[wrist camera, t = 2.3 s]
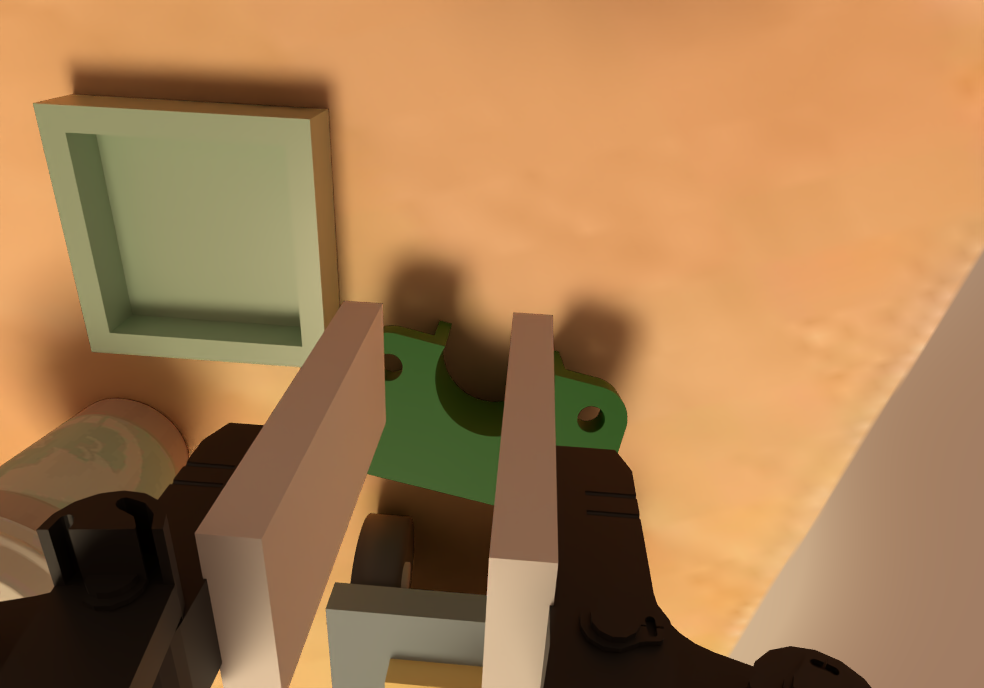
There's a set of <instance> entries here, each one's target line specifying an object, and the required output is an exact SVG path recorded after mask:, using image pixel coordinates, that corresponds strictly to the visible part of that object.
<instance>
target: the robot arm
mask: <svg viewBox="0 0 984 688" xmlns="http://www.w3.org/2000/svg"><path fill="white" fill-rule="evenodd" d="M385 423H386V407H385V370H384V333H383V303H368V302H354V301H344V302H343V303H342V305H341V306H340V308H339V309H338V311H337V312H336V314H335V316H334V317H333V319H332V320H331V322H330V323H329V325H328V326H327V328H326V330H325V331H324V333H323V334H322V336H321V337H320V339H319V340H318V342H317V344H316V345H315V347H314V348H313V350H312V351H311V353H310V355H309V356H308V358H307V359H306V361H305V362H304V364H303V365H302V367H301V369H300V370H299V372H298V373H297V375H296V376H295V378H294V379H293V381H292V383H291V384H290V386H289V387H288V389H287V390H286V392H285V393H284V395H283V397H282V398H281V400H280V401H279V403H278V404H277V406H276V407H275V409H274V411H273V412H272V414H271V415H270V417H269V418H268V420H267V421H266V423H265V425H252V424H239V423H228V424H227V425H225V426H224V427H222V428H221V429H219V430H218V431H216V432H215V433H213V434H212V435H210V436H208V437H207V438H205V439H204V440H203V441H202V442H201V443H200V445H199V446H198V447H197V449H196V450H195V451H194V452H193V454H192V455H191V456H190V458H189V459H188V460H187V464H186V466H183V467H182V468H181V470H180V471H179V472H178V474H177V475H176V476H175V478H174V479H173V484H169V486H168V487H167V488H166V489H165V491H164V492H163V493H162V495H161V496H160V497H159V499H158V500H157V499H155V498H153V497H152V496H150V495H148V494H146V493H141V492H133V491H125V490H123V491H115V492H106V493H99V494H96V495H93V496H90V497H87V498H84V499H81V500H78V501H75V502H73V503H71V504H69V505H68V506H66V507H64V508H62V509H61V510H59V511H57V512H55V513H54V514H52V515H51V516H50V517H49V518H48V519H47V520H46V521H45V522H44V523H43V524H42V525H41V526H40V527H39V528H37V529H36V531H37V534H38V537H39V540H40V543H41V547H42V550H43V553H44V556H45V559H46V562H47V565H48V569H49V572H50V575H51V578H52V581H53V584H54V587H53V589H52V590H51V592H50V593H45V594H41V595H37V596H31V597H25V598H19V599H13V600H6V601H0V688H211V685H212V683H213V681H214V679H215V677H216V675H217V673H218V671H219V669H220V671H221V677H222V682H223V687H224V688H289V685H290V682H291V679H292V677H293V674H294V671H295V669H296V666H297V663H298V660H299V658H300V655H301V652H302V649H303V647H304V644H305V641H306V639H307V636H308V633H309V630H310V628H311V625H312V622H313V620H314V617H315V614H316V611H317V609H318V606H319V603H320V600H321V598H322V595H323V592H324V590H325V587H326V584H327V581H328V579H329V576H330V573H331V570H332V568H333V565H334V562H335V560H336V557H337V554H338V551H339V549H340V546H341V543H342V540H343V538H344V535H345V532H346V530H347V527H348V524H349V521H350V519H351V516H352V513H353V511H354V508H355V505H356V502H357V500H358V497H359V494H360V491H361V489H362V486H363V483H364V481H365V478H366V475H367V472H368V470H369V467H370V464H371V461H372V459H373V456H374V453H375V451H376V448H377V445H378V442H379V440H380V437H381V434H382V431H383V429H384V426H385ZM482 688H871V687H870V685H869V684H868V683H867V682H866V681H865V679H864V678H862V677H861V676H860V675H858V674H857V673H856V672H854V671H853V670H852V669H850V668H849V667H848V666H846V665H845V664H844V663H843V662H841V661H839V660H837V659H835V658H832V657H830V656H828V655H825V654H823V653H821V652H818V651H816V650H811V649H805V648H799V647H792V646H789V647H784V648H779V649H774V650H769V651H768V652H767V653H765V654H764V655H763V656H762V657H760V658H759V659H758V660H757V661H755V663H754V666H751V665H748V664H745V663H742V662H739V661H737V660H734V659H731V658H728V657H726V656H723V655H720V654H717V653H715V652H712V651H710V650H708V649H706V648H703V647H701V646H699V645H697V644H695V643H693V642H692V641H691V640H689V639H688V638H686V637H685V636H683V635H682V634H680V633H679V632H678V631H677V630H676V629H675V628H674V627H673V626H672V625H671V623H670V620H669V619H668V618H667V616H666V615H665V614H664V612H663V611H662V610H661V609H660V607H659V606H658V605H657V602H656V599H655V596H654V593H653V587H652V582H651V576H650V570H649V565H648V559H647V553H646V548H645V542H644V537H643V531H642V525H641V520H640V519H639V508H638V503H637V499H636V492H635V486H634V480H633V475H632V471H631V469H630V468H629V467H628V466H627V464H626V463H625V462H624V461H623V459H622V458H621V457H620V456H619V454H618V453H617V452H616V451H615V450H610V449H597V448H584V447H570V446H557V445H556V435H555V390H554V344H553V315H543V314H529V313H514V312H513V321H512V331H511V342H510V352H509V362H508V372H507V382H506V392H505V402H504V412H503V422H502V432H501V442H500V453H499V463H498V473H497V483H496V493H495V503H494V513H493V523H492V533H491V543H490V553H489V568H488V586H487V603H486V621H485V638H484V656H483V674H482Z"/></svg>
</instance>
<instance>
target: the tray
mask: <svg viewBox="0 0 984 688" xmlns="http://www.w3.org/2000/svg"><path fill="white" fill-rule="evenodd" d="M33 106H34V110H35V115H36V119H37V123H38V127H39V131H40V136H41V140H42V144H43V148H44V153H45V157H46V161H47V165H48V169H49V174H50V178H51V182H52V186H53V190H54V195H55V199H56V203H57V207H58V212H59V216H60V220H61V224H62V228H63V233H64V237H65V241H66V245H67V250H68V254H69V258H70V262H71V266H72V271H73V275H74V279H75V283H76V287H77V292H78V296H79V300H80V304H81V309H82V313H83V317H84V321H85V325H86V330H87V334H88V338H89V342H90V346H91V351H92V352H99V353H113V354H127V355H140V356H154V357H168V358H182V359H195V360H209V361H223V362H237V363H251V364H264V365H278V366H292V367H302V365H303V364H304V362H305V361H306V359H307V358H308V356H309V355H310V353H311V351H312V350H313V348H314V347H315V345H316V344H317V342H318V340H319V339H320V337H321V336H322V334H323V333H324V331H325V330H326V328H327V326H328V325H329V323H330V322H331V320H332V319H333V317H334V316H335V314H336V312H337V311H338V309H339V308H340V302H339V284H338V267H337V249H336V232H335V214H334V197H333V179H332V162H331V144H330V127H329V109H322V108H304V107H287V106H270V105H252V104H235V103H218V102H200V101H183V100H166V99H148V98H131V97H114V96H96V95H79V94H71V95H67V96H62V97H58V98H54V99H49V100H45V101H40V102H36V103H33Z"/></svg>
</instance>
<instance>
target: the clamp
mask: <svg viewBox="0 0 984 688" xmlns="http://www.w3.org/2000/svg"><path fill="white" fill-rule="evenodd" d="M451 325H452V324H451V323H448V322H444V321H440V322H439V324H438V327H437V330H436V332H435V335H431V334H427V333H424V332H420V331H416V330H412V329H408V328H404V327H400V326H384V327H383V333H384V354H393V355H395V356H397V357H398V358H399V359H400V361H401V363H402V366H403V369H401V370H399V371H396V372H391V371H388V370H386V369H385V368H384V370H385V407H386V423H385V426H384V429H383V431H382V434H381V437H380V440H379V442H378V445H377V448H376V451H375V453H374V456H373V459H372V461H371V464H370V467H369V470H368V472H367V474H369V475H373V476H377V477H381V478H385V479H389V480H394V481H398V482H402V483H406V484H410V485H414V486H418V487H422V488H426V489H430V490H434V491H438V492H442V493H446V494H450V495H454V496H458V497H462V498H466V499H470V500H474V501H478V502H482V503H486V504H490V505H494V503H495V493H496V483H497V473H498V463H499V453H500V442H501V432H502V422H503V412H504V402H505V401H499V402H491V401H484V400H480V399H477V398H475V397H472V396H470V395H469V394H467V393H465V392H464V391H463V390H461V389H460V388H459V387H458V386H457V385H456V384H455V383H454V381H453V380H452V379H451V377H450V375H449V373H448V371H447V369H446V366H445V362H444V355H443V349H444V348H445V346H446V342H447V339H448V335H449V332H450V329H451ZM554 390H555V435H556V445H557V446H570V447H584V448H597V449H610V450H615V451H616V452H617V453H618V451H619V448H620V445H621V442H622V438H623V435H624V432H625V429H626V426H627V411H626V408H625V405H624V403H623V402H622V400H621V398H620V396H619V395H618V393H617V391H616V390H615V388H614V387H613V386H612V385H611V384H609V383H608V382H606V381H605V380H603V379H600V378H597V377H593V376H589V375H585V374H581V373H577V372H574V371H570V370H566V369H565V367H564V364H563V362H562V359H561V356H560V354H559V352H558V351H555V350H554ZM588 406H595V407H598V408H599V409H600V412H599V414H598V416H597V417H596V418H594V419H593V420H590V421H582V420H580V419H578V418H577V417H578V414H579V412H580V411H581V410H582V409H584V408H585V407H588Z"/></svg>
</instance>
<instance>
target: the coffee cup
mask: <svg viewBox="0 0 984 688" xmlns="http://www.w3.org/2000/svg"><path fill="white" fill-rule="evenodd" d="M187 460H188V452H187V447H186V444H185V442H184V440H183V438H182V436H181V434H180V432H179V431H178V430H177V428H176V427H175V426H174V425H173V424H172V423H171V421H170V420H168V419H167V418H166V417H165V416H164V415H162V414H161V413H160V412H158V411H156V410H155V409H153V408H151V407H149V406H147V405H145V404H142V403H140V402H137V401H133V400H128V399H118V398H115V399H105V400H101V401H98V402H96V403H93V404H92V405H90V406H89V407H87V408H86V409H84V410H83V411H81V412H80V413H78V414H77V415H75V416H74V417H72V418H71V419H69V420H68V421H66V422H65V423H63V424H62V425H60V426H59V427H57V428H56V429H54V430H53V431H51V432H50V433H48V434H47V435H46V436H44V437H43V438H41V439H40V440H38V441H37V442H35V443H34V444H32V445H31V446H29V447H28V448H26V449H25V450H24V451H22V452H21V453H19V454H18V455H16V456H15V457H13V458H12V459H10V460H9V461H7V462H6V463H4V464H3V465H2V466H0V601H6V600H13V599H19V598H25V597H31V596H37V595H41V594H45V593H50V592H51V590H52V589H53V587H54V584H53V581H52V578H51V575H50V572H49V569H48V565H47V562H46V559H45V556H44V553H43V550H42V547H41V543H40V540H39V537H38V534H37V531H36V529H37V528H39V527H40V526H41V525H42V524H43V523H44V522H45V521H46V520H47V519H48V518H49V517H50V516H51V515H52V514H54V513H55V512H57V511H59V510H61V509H62V508H64V507H66V506H68V505H69V504H71V503H73V502H75V501H78V500H81V499H84V498H87V497H90V496H93V495H96V494H99V493H106V492H115V491H123V490H125V491H133V492H141V493H146V494H148V495H150V496H152V497H153V498H155V499H157V500H158V499H159V497H160V496H161V495H162V493H163V492H164V491H165V489H166V488H167V487H168V486H169V484H173V479H174V478H175V476H176V475H177V474H178V472H179V471H180V470H181V468H182V467H183V466H186V464H187Z"/></svg>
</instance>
